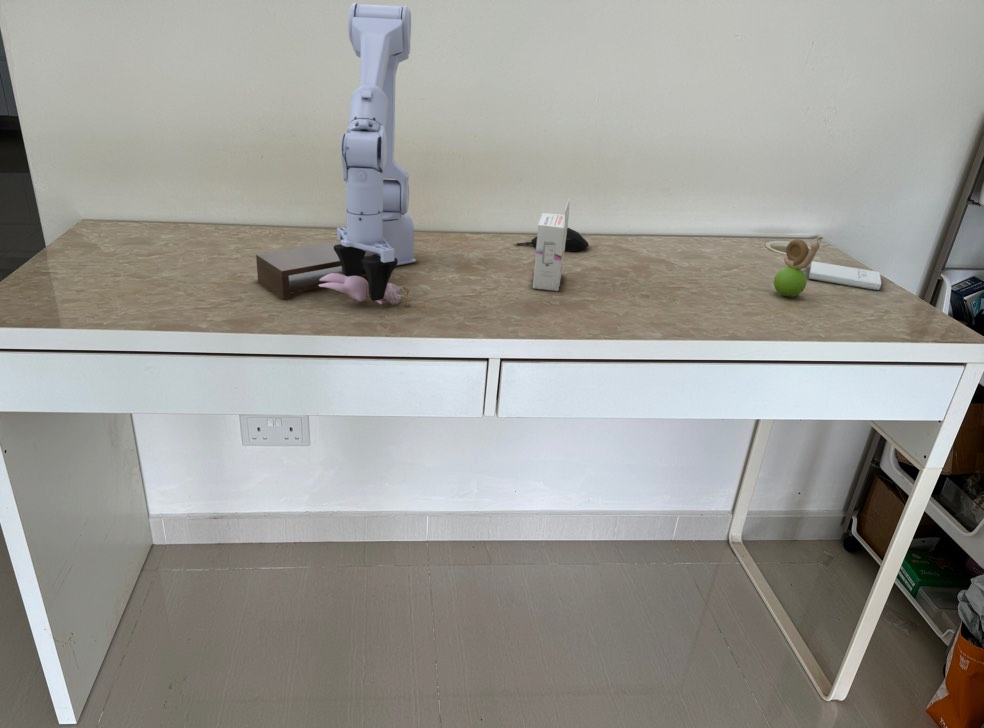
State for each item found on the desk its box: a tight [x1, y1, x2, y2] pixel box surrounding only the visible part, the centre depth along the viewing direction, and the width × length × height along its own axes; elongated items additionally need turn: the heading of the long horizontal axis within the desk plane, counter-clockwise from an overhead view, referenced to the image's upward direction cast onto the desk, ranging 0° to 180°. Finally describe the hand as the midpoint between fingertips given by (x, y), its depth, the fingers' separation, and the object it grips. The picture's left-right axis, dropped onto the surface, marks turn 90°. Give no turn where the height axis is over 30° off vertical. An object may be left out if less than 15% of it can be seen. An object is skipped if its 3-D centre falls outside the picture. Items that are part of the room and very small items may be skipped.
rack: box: [255, 240, 373, 301], centre depth 135 cm, size 18×10×5 cm, turn 126°
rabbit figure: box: [318, 273, 410, 306], centre depth 127 cm, size 6×6×15 cm
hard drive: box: [808, 260, 882, 291], centre depth 150 cm, size 2×8×12 cm
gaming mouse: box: [517, 227, 590, 252], centre depth 160 cm, size 6×15×4 cm, turn 89°
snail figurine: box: [773, 236, 824, 298], centre depth 137 cm, size 5×6×12 cm
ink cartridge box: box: [532, 198, 570, 292], centre depth 138 cm, size 9×5×15 cm, turn 168°
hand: (365, 292), depth 127 cm, fingers closed on rabbit figure, 7 cm apart
